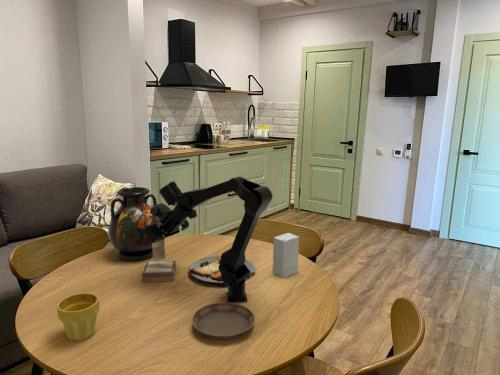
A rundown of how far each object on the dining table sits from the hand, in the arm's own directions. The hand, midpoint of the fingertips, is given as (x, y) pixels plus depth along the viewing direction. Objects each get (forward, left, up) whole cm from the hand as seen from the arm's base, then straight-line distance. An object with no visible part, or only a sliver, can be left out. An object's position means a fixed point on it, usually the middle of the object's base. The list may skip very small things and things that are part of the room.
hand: (155, 240), depth 136 cm
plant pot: (-37, +16, -14) cm, 42 cm away
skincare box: (-4, -48, -14) cm, 50 cm away
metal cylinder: (-1, -1, -7) cm, 7 cm away
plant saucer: (-37, -23, -14) cm, 46 cm away
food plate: (-1, -24, -14) cm, 28 cm away
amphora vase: (+20, +11, -14) cm, 27 cm away
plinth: (-1, -1, -13) cm, 13 cm away
